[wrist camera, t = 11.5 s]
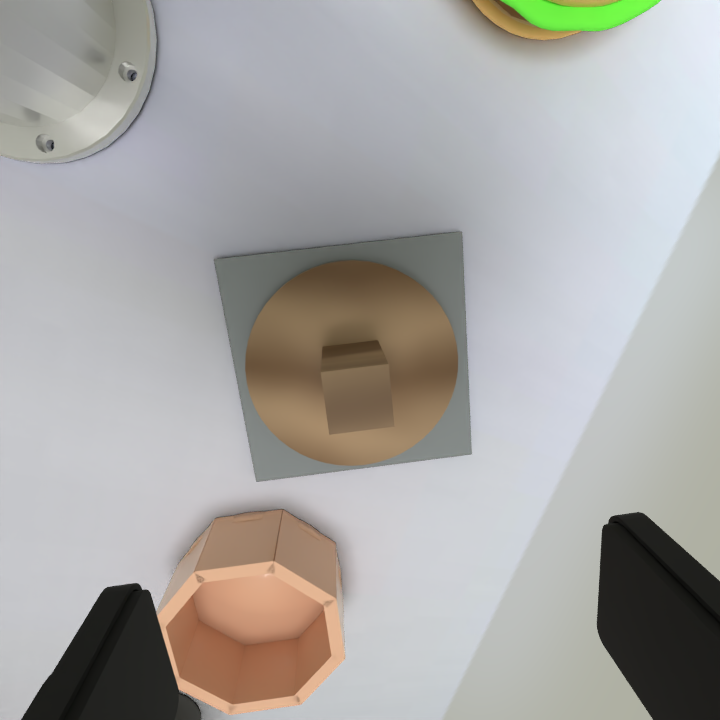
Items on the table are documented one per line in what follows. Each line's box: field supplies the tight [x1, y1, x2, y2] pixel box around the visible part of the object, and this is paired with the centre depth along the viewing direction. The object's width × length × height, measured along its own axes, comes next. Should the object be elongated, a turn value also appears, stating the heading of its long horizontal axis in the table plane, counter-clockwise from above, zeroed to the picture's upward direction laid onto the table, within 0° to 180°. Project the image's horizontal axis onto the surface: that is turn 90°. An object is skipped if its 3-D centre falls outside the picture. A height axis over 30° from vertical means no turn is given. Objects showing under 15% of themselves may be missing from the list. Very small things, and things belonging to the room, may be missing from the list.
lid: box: [245, 260, 458, 466], centre depth 25 cm, size 12×12×6 cm
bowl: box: [156, 509, 345, 715], centre depth 29 cm, size 11×11×5 cm
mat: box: [214, 232, 472, 482], centre depth 28 cm, size 14×14×1 cm
